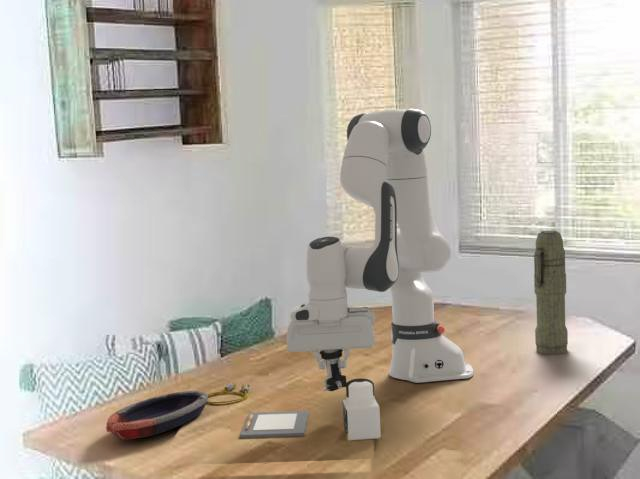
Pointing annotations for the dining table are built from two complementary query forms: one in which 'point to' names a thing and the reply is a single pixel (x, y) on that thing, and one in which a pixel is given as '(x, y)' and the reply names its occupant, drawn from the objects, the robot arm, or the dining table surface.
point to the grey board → (275, 424)
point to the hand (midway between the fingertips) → (332, 368)
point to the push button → (333, 370)
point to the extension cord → (227, 389)
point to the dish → (156, 414)
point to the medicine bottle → (361, 411)
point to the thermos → (550, 293)
